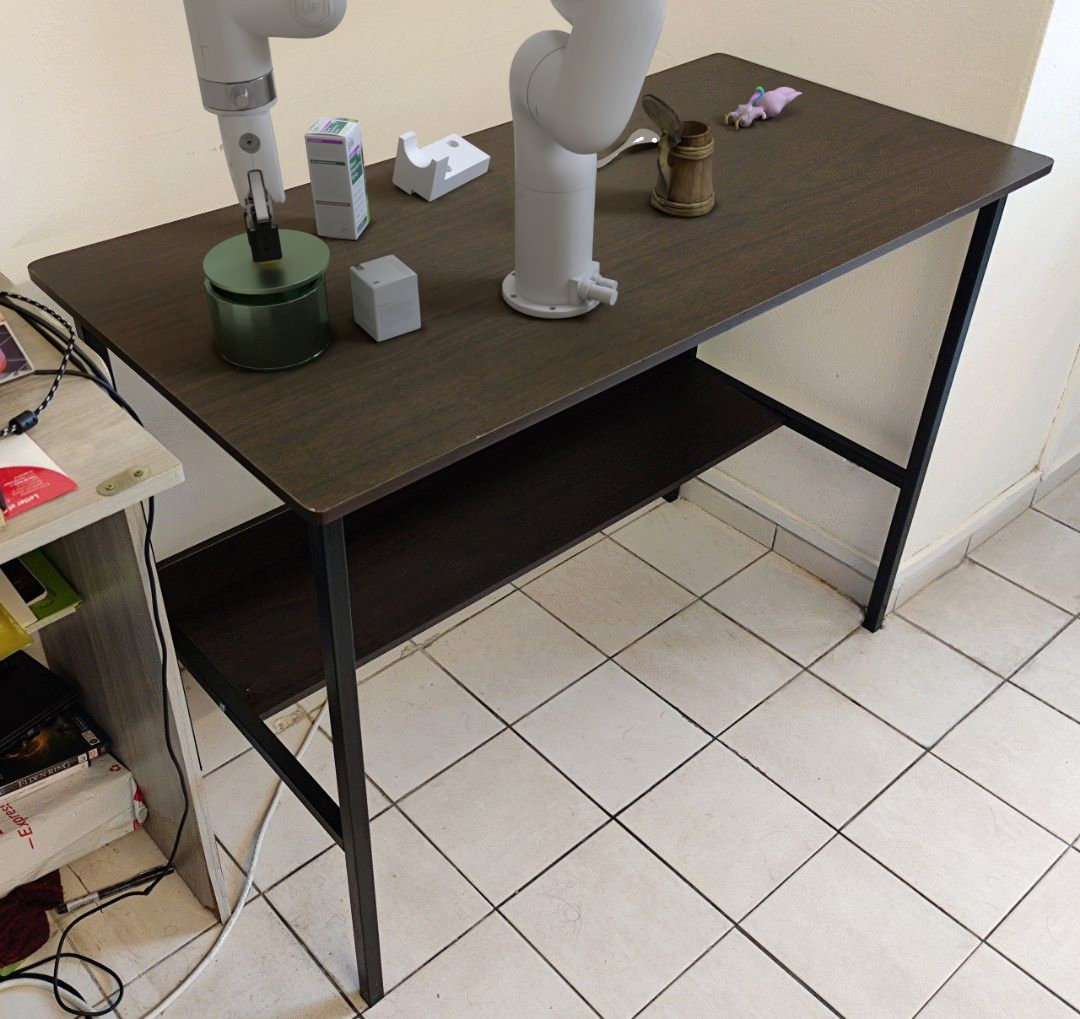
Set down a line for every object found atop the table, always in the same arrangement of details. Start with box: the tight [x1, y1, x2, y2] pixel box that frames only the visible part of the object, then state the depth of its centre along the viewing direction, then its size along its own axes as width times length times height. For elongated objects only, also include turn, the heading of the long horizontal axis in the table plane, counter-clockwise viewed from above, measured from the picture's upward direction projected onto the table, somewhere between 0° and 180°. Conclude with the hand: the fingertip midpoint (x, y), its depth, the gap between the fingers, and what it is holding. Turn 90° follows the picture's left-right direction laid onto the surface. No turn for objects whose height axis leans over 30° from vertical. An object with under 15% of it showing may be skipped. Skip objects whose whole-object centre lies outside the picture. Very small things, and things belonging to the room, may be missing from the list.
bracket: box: [391, 130, 491, 203], centre depth 171 cm, size 13×7×8 cm, turn 143°
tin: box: [203, 271, 332, 373], centre depth 137 cm, size 13×13×8 cm
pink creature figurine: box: [723, 86, 803, 131], centre depth 192 cm, size 6×6×15 cm
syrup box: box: [303, 116, 371, 241], centre depth 157 cm, size 6×6×14 cm
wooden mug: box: [641, 93, 716, 218], centre depth 162 cm, size 9×14×18 cm, turn 134°
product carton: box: [348, 254, 422, 343], centre depth 140 cm, size 6×6×7 cm
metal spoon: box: [597, 128, 661, 170], centre depth 179 cm, size 20×4×5 cm
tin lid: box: [202, 212, 332, 294], centre depth 131 cm, size 14×14×6 cm
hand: (265, 250), depth 132 cm, fingers closed on tin lid, 3 cm apart
